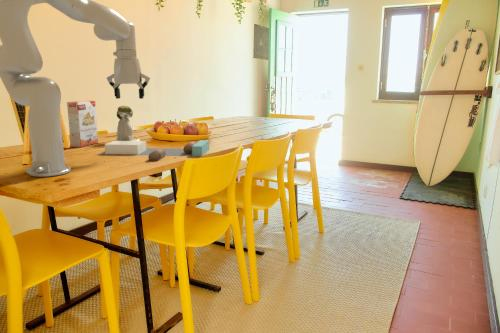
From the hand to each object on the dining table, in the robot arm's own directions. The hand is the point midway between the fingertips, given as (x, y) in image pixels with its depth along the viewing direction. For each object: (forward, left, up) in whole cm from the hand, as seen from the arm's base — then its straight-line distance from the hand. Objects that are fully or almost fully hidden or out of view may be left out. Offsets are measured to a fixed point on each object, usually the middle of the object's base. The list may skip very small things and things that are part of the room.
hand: (129, 98), depth 158 cm
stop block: (+4, -28, -23) cm, 36 cm away
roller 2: (+4, -24, -23) cm, 33 cm away
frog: (+28, +14, -24) cm, 39 cm away
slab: (+2, +4, -23) cm, 23 cm away
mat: (+4, -8, -23) cm, 25 cm away
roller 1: (-10, -14, -23) cm, 29 cm away
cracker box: (+21, +32, -24) cm, 45 cm away
